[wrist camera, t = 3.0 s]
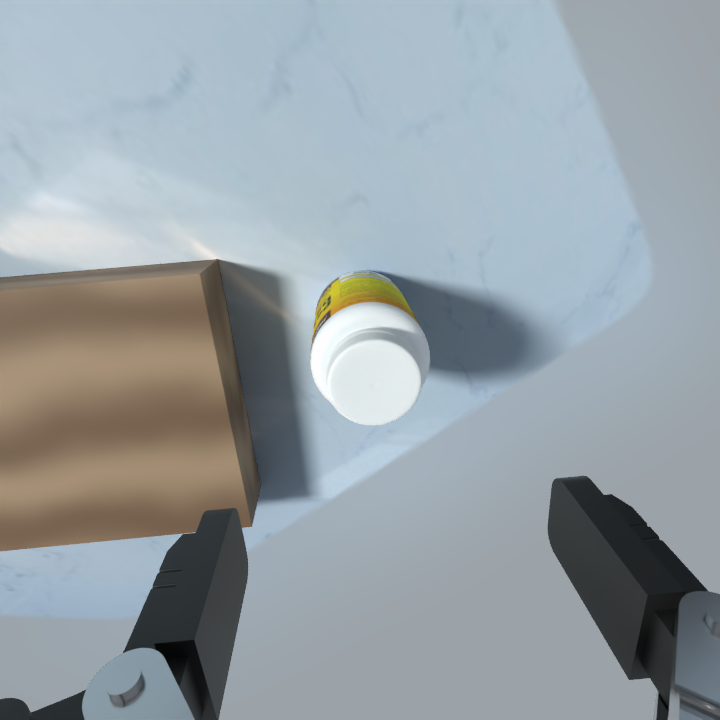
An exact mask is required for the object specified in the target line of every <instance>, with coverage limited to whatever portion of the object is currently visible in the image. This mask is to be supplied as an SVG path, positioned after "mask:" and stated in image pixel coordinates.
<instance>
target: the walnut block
mask: <svg viewBox="0 0 720 720" xmlns="http://www.w3.org/2000/svg"><path fill="white" fill-rule="evenodd" d="M260 488H261V485H260V480H259V475H258V469H257V464H256V459H255V453H254V448H253V443H252V438H251V432H250V427H249V422H248V416H247V411H246V406H245V401H244V395H243V390H242V385H241V379H240V374H239V369H238V364H237V358H236V353H235V348H234V342H233V337H232V332H231V327H230V321H229V316H228V311H227V305H226V300H225V295H224V290H223V284H222V279H221V274H220V268H219V263H218V259H216V260H204V261H192V262H180V263H168V264H156V265H144V266H132V267H120V268H109V269H97V270H85V271H73V272H61V273H49V274H37V275H25V276H14V277H2V278H0V551H8V550H18V549H28V548H39V547H49V546H59V545H69V544H79V543H90V542H100V541H110V540H120V539H130V538H141V537H151V536H161V535H171V534H181V533H192V532H196V531H197V528H198V526H199V523H200V520H201V518H202V515H203V513H204V512H205V511H207V510H217V509H228V508H236V509H237V511H238V513H239V518H240V523H241V527H242V528H243V527H252V523H253V519H254V515H255V510H256V506H257V501H258V497H259V492H260Z"/></svg>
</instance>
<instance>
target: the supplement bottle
mask: <svg viewBox="0 0 720 720" xmlns="http://www.w3.org/2000/svg"><path fill="white" fill-rule="evenodd" d="M310 359H311V371H312V375H313V378H314V381H315V383H316V385H317V387H318V388H319V390H320V391H321V393H322V394H323V395H324V396H325V397H326V399H327V400H328V401H330V402H331V403H332V404H333V405H334V407H335V408H336V409H337V410H338V412H340V413H341V414H342V415H343V416H344V417H346V418H347V419H349V420H351V421H353V422H356V423H359V424H362V425H370V426H374V425H383V424H387V423H390V422H393V421H395V420H397V419H399V418H400V417H402V416H403V415H405V414H406V413H407V412H408V411H409V410H410V409H411V408H412V407H413V405H414V404H415V402H416V401H417V399H418V396H419V394H420V390H421V387H422V386H423V384H424V382H425V380H426V377H427V374H428V371H429V366H430V350H429V345H428V342H427V339H426V337H425V334H424V332H423V330H422V328H421V327H420V325H419V323H418V321H417V319H416V318H415V316H414V314H413V312H412V310H411V308H410V307H409V305H408V303H407V301H406V299H405V298H404V296H403V294H402V292H401V291H400V289H399V288H398V287H397V286H396V284H395V283H394V282H392V281H391V280H390V279H389V278H387V277H385V276H383V275H381V274H379V273H376V272H372V271H364V270H361V271H353V272H349V273H346V274H343V275H341V276H339V277H338V278H336V279H335V280H333V281H332V282H331V283H330V284H329V285H328V286H327V287H326V288H325V290H324V291H323V293H322V294H321V296H320V298H319V301H318V304H317V308H316V315H315V323H314V331H313V338H312V347H311V357H310Z"/></svg>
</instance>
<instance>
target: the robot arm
mask: <svg viewBox="0 0 720 720" xmlns="http://www.w3.org/2000/svg"><path fill="white" fill-rule="evenodd" d="M548 535H549V540H550V544H551V547H552V549H553V552H554V553H555V555H556V557H557V558H558V560H559V562H560V564H561V565H562V567H563V568H564V570H565V572H566V574H567V575H568V577H569V579H570V581H571V582H572V584H573V586H574V587H575V589H576V591H577V592H578V594H579V596H580V598H581V599H582V601H583V603H584V604H585V606H586V607H587V609H588V611H589V613H590V614H591V616H592V618H593V620H594V621H595V623H596V625H597V626H598V628H599V630H600V631H601V633H602V635H603V636H604V638H605V640H606V641H607V643H608V645H609V647H610V648H611V650H612V652H613V653H614V655H615V657H616V658H617V660H618V662H619V663H620V665H621V667H622V669H623V670H624V672H625V674H626V675H627V677H628V679H629V680H633V679H643V678H651V680H652V682H653V683H654V685H655V686H656V688H657V694H656V699H655V708H654V719H653V720H720V594H717V593H713V592H709V591H708V590H707V589H706V588H705V587H704V586H703V585H702V584H701V583H700V582H699V580H697V578H696V577H695V576H694V575H693V574H692V573H691V572H690V571H689V570H688V568H687V567H686V566H685V565H684V564H683V563H682V562H681V561H680V559H679V558H678V557H677V556H676V555H675V554H674V553H673V552H672V551H671V550H670V549H669V547H668V546H667V545H666V544H665V543H664V542H663V541H662V540H659V536H658V535H657V534H656V533H655V532H654V531H653V530H652V529H651V527H648V526H647V523H646V522H645V521H644V520H643V519H642V518H641V516H640V515H639V514H638V513H637V512H636V511H635V510H634V509H633V508H632V507H631V506H629V505H628V504H626V503H625V502H623V501H621V500H620V499H618V498H616V497H615V496H613V495H612V494H610V495H603V494H602V492H601V491H600V490H599V489H598V488H597V487H596V485H595V484H594V483H593V482H592V481H591V480H590V479H589V478H588V477H587V476H578V477H568V478H558V479H557V478H556V479H555V480H554V481H553V483H552V489H551V499H550V510H549V519H548ZM247 576H248V558H247V552H246V547H245V542H244V537H243V532H242V527H241V523H240V518H239V513H238V511H237V509H236V508H228V509H217V510H207V511H205V512H204V513H203V515H202V518H201V520H200V523H199V526H198V528H197V531H196V533H191V534H183V535H182V536H181V537H180V538H179V539H178V540H177V541H176V542H175V544H174V545H173V546H172V547H171V548H170V549H169V550H168V551H167V553H166V556H165V558H164V560H163V563H162V565H161V567H160V572H159V573H158V574H157V576H156V579H155V581H154V583H153V589H151V590H150V593H149V595H148V597H147V600H146V602H145V604H144V606H143V609H142V611H141V613H140V616H139V618H138V620H137V623H136V625H135V627H134V629H133V632H132V634H131V637H130V639H129V641H128V643H127V646H126V648H125V650H124V652H123V653H122V654H121V655H119V656H117V657H115V658H114V659H112V660H111V661H109V662H108V663H107V664H106V665H105V666H103V667H102V669H100V670H99V672H98V673H97V674H96V675H95V676H94V678H93V679H92V680H91V682H90V684H89V685H88V687H87V689H86V690H84V691H82V692H81V693H78V694H76V695H74V696H71V697H69V698H67V699H64V700H61V701H59V702H56V703H54V704H52V705H49V706H47V707H44V708H42V709H39V710H37V711H34V712H32V713H31V712H30V710H29V708H28V707H27V705H26V704H25V703H24V702H23V701H21V700H19V699H15V698H5V699H0V720H218V719H219V714H220V710H221V705H222V700H223V695H224V690H225V685H226V681H227V676H228V671H229V666H230V661H231V656H232V652H233V647H234V642H235V636H236V632H237V627H238V623H239V618H240V613H241V608H242V603H243V598H244V594H245V589H246V583H247Z"/></svg>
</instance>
